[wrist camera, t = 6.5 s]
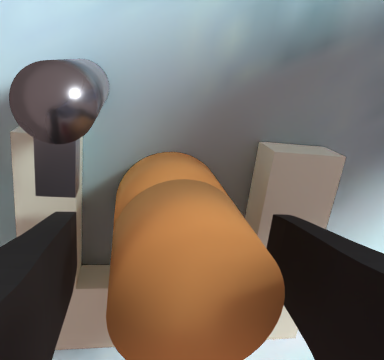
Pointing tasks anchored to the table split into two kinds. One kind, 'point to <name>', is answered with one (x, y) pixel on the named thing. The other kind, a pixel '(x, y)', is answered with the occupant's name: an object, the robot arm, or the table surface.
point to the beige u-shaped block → (255, 215)
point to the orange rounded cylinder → (187, 267)
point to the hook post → (58, 117)
